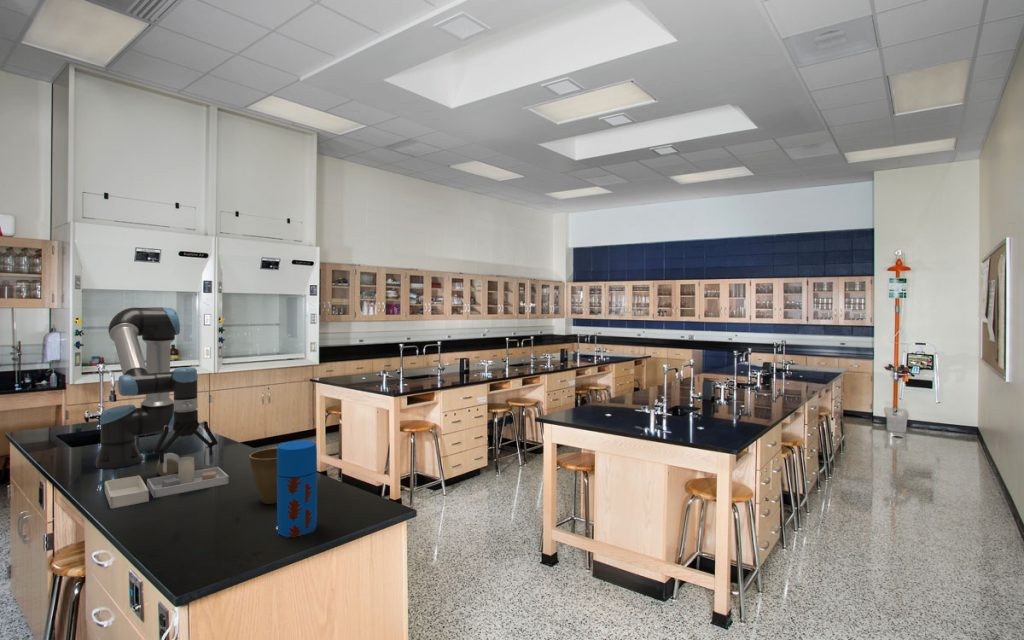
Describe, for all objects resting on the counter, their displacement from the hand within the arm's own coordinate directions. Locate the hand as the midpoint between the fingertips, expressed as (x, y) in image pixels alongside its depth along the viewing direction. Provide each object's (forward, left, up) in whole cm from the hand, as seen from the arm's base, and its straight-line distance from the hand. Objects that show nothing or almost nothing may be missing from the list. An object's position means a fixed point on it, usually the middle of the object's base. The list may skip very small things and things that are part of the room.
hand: (186, 468), depth 200 cm
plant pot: (+38, +19, -6) cm, 43 cm away
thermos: (+68, +16, -6) cm, 70 cm away
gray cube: (+7, -6, -6) cm, 11 cm away
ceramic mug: (-17, -2, -6) cm, 18 cm away
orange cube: (+7, +6, -6) cm, 11 cm away
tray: (+3, 0, -6) cm, 6 cm away
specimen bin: (+3, -19, -6) cm, 20 cm away
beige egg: (0, 0, -6) cm, 6 cm away
